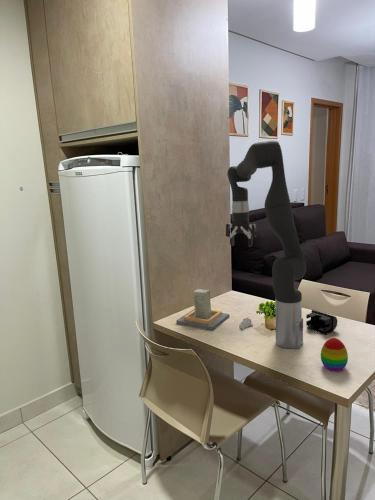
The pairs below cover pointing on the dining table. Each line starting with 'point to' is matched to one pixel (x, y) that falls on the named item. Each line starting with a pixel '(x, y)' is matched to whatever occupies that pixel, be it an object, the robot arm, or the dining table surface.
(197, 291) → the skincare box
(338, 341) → the decorative egg
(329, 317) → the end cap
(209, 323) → the grey wood framed tray
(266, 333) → the dining table surface
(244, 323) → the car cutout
